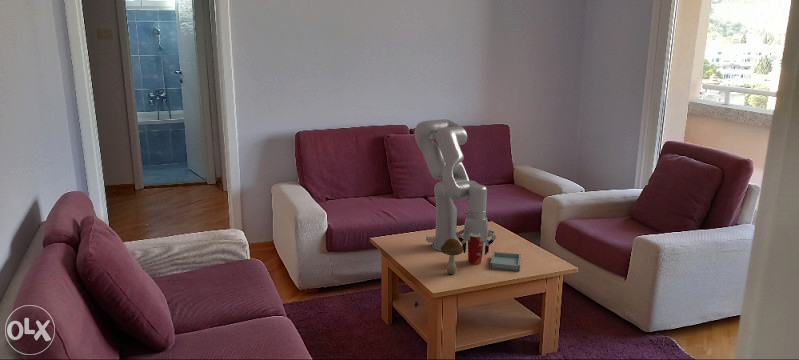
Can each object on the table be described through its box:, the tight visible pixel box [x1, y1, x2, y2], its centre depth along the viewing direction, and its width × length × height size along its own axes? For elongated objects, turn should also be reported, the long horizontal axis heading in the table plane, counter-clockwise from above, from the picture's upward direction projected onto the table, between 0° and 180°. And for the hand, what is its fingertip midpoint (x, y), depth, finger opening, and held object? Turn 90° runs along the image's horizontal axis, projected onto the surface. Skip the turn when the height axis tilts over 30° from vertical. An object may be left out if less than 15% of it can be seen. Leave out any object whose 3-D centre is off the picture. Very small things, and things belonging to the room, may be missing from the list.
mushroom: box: [440, 238, 464, 275], centre depth 237 cm, size 9×11×15 cm
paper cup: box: [467, 233, 485, 265], centre depth 249 cm, size 8×8×14 cm
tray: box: [489, 251, 522, 272], centre depth 249 cm, size 12×14×2 cm
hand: (475, 252), depth 250 cm, fingers open, 8 cm apart
